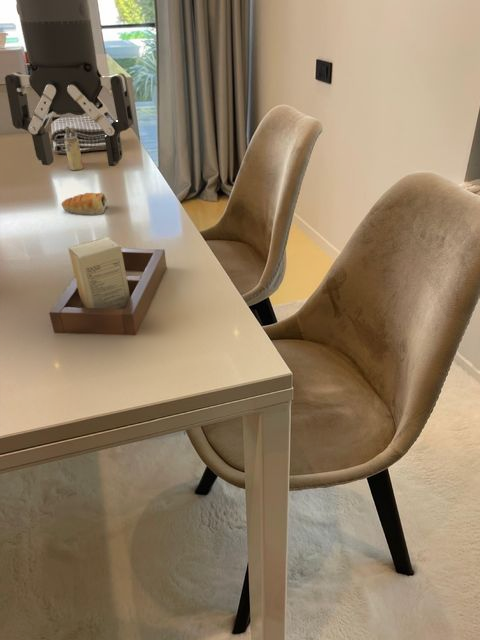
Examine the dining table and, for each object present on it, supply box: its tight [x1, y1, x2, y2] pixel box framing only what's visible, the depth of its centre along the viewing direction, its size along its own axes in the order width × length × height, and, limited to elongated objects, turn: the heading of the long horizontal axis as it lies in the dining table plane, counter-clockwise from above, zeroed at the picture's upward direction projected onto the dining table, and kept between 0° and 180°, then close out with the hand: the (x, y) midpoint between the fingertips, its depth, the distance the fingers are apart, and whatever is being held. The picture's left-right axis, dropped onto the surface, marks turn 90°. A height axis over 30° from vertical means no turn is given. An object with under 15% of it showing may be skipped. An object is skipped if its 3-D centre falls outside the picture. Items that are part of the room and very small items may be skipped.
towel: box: [50, 115, 107, 155], centre depth 166 cm, size 15×18×8 cm
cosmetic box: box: [68, 236, 130, 309], centre depth 80 cm, size 6×4×12 cm
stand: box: [48, 248, 167, 336], centre depth 86 cm, size 12×22×5 cm, turn 177°
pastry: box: [61, 191, 109, 216], centre depth 122 cm, size 9×7×4 cm
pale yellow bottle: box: [64, 126, 84, 171], centre depth 148 cm, size 7×4×10 cm, turn 15°
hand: (80, 164), depth 71 cm, fingers open, 8 cm apart
